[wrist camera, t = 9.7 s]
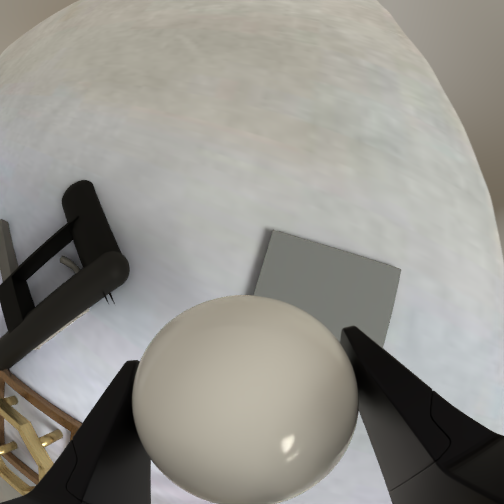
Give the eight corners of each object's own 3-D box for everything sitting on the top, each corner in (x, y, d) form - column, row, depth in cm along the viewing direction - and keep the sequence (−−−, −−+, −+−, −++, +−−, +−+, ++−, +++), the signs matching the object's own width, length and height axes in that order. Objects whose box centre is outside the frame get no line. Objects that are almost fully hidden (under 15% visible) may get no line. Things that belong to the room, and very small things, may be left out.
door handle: (-34, 253, 22) (-4, 383, 18) (75, 144, 24) (130, 283, 20) (-17, 259, 25) (16, 381, 21) (90, 160, 27) (148, 289, 23)
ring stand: (79, 507, 18) (57, 526, 13) (0, 447, 19) (-24, 457, 14) (85, 425, 20) (56, 442, 15) (0, 363, 21) (-30, 366, 16)
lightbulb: (200, 415, 15) (123, 536, 4) (189, 307, 16) (72, 292, 5) (312, 408, 15) (385, 528, 4) (305, 298, 16) (392, 268, 5)
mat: (362, 398, 20) (365, 400, 20) (231, 366, 21) (230, 368, 21) (397, 270, 22) (401, 269, 22) (272, 232, 23) (273, 229, 23)
